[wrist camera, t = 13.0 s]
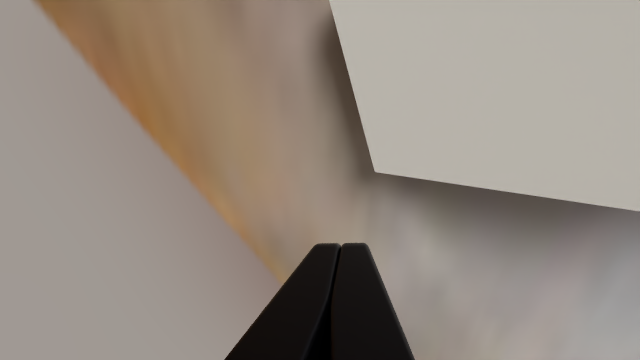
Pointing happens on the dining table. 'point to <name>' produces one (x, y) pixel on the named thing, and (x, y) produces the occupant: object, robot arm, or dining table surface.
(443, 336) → the dining table surface
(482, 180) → the domino
